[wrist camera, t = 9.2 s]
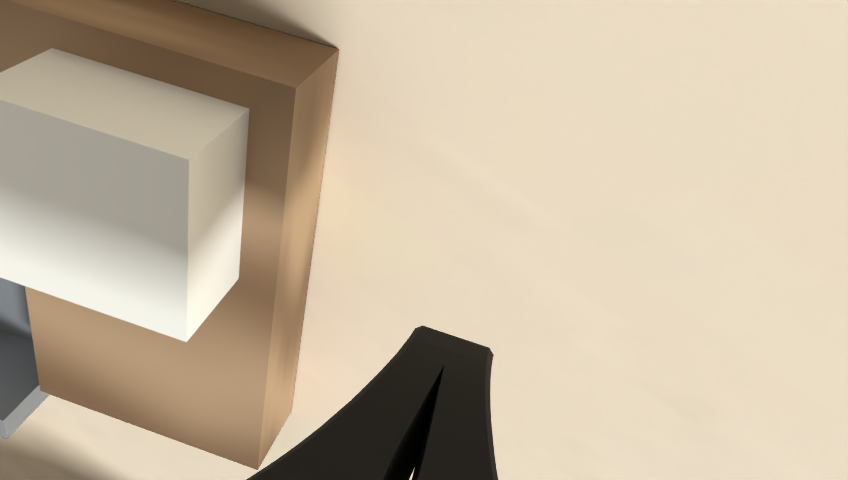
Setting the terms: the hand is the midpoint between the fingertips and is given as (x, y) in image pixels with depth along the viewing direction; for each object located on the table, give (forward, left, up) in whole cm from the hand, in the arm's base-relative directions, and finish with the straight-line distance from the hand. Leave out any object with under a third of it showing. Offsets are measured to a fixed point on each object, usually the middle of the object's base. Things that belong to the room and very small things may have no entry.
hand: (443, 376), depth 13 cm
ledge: (-3, +8, -6) cm, 10 cm away
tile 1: (0, +8, -3) cm, 8 cm away
